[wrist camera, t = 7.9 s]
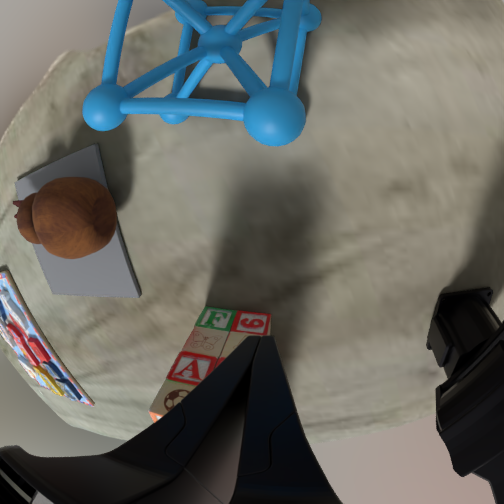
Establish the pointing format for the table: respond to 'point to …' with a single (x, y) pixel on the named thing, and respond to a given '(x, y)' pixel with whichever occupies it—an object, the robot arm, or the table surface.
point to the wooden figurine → (68, 217)
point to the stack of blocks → (206, 352)
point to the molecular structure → (208, 52)
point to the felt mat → (91, 266)
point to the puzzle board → (34, 344)
